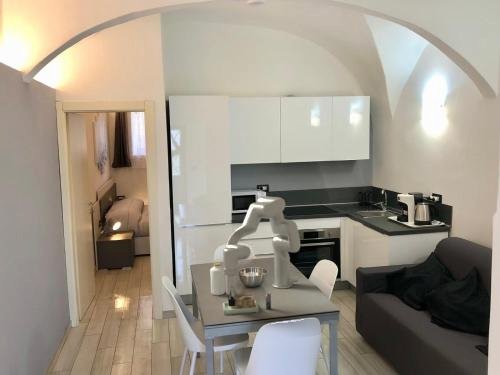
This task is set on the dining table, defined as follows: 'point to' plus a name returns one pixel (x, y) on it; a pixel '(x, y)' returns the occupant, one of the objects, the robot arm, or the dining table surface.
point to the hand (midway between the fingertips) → (231, 304)
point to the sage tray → (229, 311)
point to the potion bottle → (217, 279)
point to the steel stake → (268, 301)
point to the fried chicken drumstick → (244, 302)
